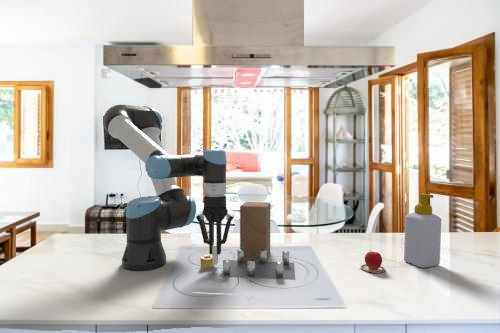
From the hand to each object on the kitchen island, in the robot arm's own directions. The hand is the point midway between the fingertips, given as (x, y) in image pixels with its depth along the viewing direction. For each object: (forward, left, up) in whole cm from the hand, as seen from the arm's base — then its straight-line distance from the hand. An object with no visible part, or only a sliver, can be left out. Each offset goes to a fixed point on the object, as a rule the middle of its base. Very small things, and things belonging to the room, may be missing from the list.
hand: (215, 263), depth 121 cm
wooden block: (+12, +15, -2) cm, 20 cm away
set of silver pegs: (+15, 0, -2) cm, 15 cm away
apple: (+54, +5, -2) cm, 54 cm away
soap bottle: (+72, +13, -2) cm, 74 cm away
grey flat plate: (+15, 0, -2) cm, 15 cm away
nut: (-3, +1, -2) cm, 4 cm away
